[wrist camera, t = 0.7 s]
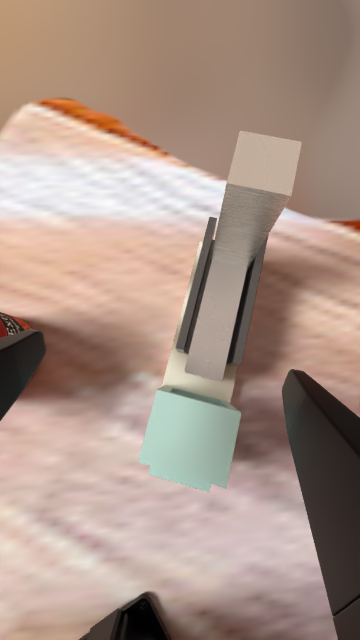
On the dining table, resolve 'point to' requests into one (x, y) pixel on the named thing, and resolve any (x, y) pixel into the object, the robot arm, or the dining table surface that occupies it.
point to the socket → (190, 438)
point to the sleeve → (244, 305)
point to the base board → (178, 361)
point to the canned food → (11, 325)
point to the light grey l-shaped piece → (240, 241)
